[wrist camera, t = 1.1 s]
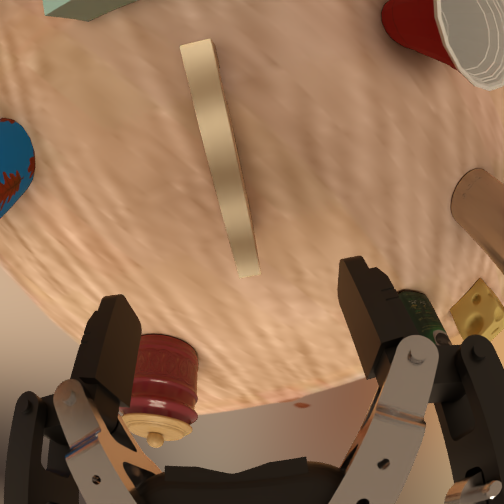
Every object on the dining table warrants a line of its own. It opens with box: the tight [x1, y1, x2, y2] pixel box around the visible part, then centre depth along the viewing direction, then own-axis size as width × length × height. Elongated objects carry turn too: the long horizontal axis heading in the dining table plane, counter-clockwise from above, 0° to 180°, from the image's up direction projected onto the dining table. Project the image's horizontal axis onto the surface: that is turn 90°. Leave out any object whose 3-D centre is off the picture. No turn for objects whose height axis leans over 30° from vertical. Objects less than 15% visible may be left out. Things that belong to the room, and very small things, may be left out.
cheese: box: [450, 278, 504, 342], centre depth 44 cm, size 10×11×10 cm
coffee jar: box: [398, 291, 452, 345], centre depth 38 cm, size 10×8×19 cm
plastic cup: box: [381, 0, 504, 91], centre depth 14 cm, size 11×11×12 cm
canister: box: [119, 334, 198, 448], centre depth 40 cm, size 13×13×18 cm
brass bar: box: [180, 39, 261, 279], centre depth 24 cm, size 20×2×8 cm, turn 10°
